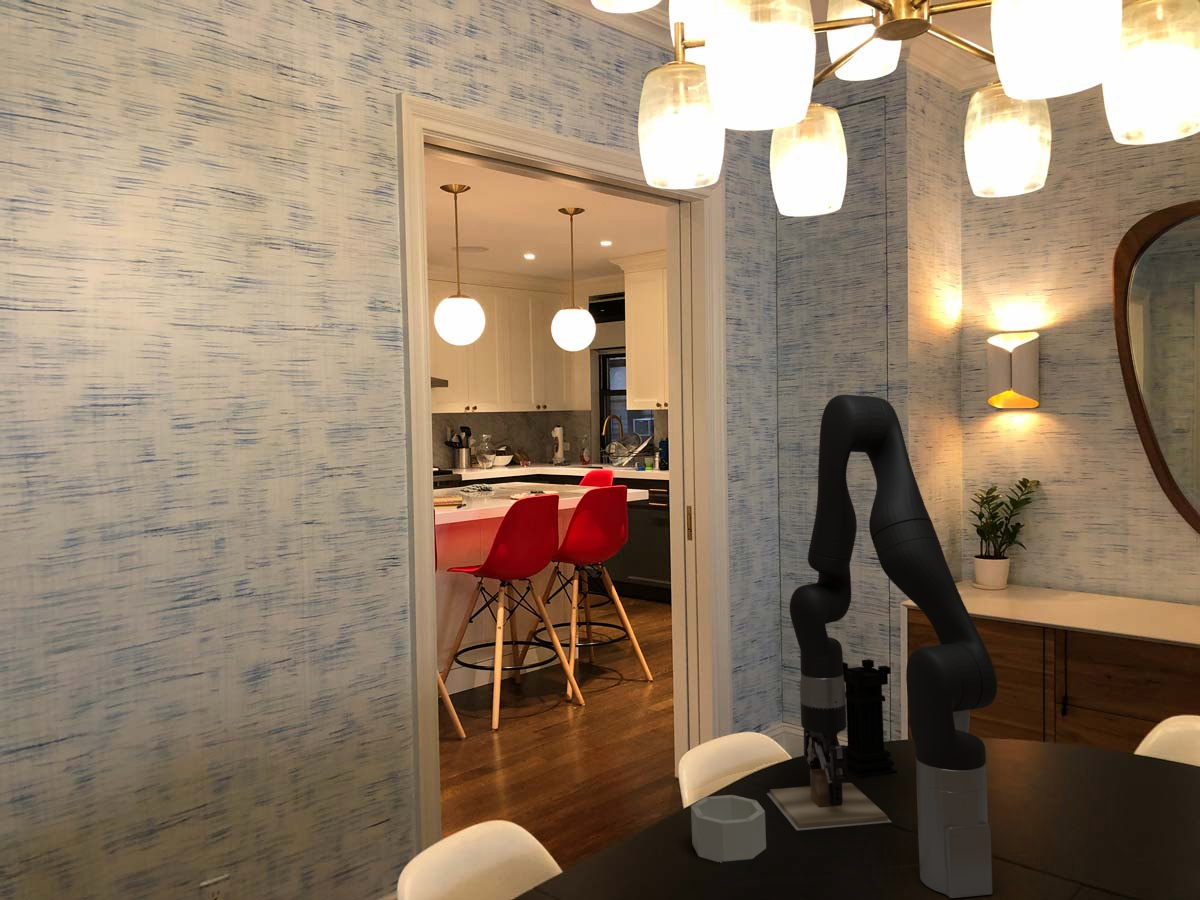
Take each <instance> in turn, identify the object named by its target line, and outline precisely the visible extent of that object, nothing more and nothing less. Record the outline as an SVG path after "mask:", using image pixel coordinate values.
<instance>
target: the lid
mask: <svg viewBox="0 0 1200 900" xmlns="http://www.w3.org/2000/svg"><path fill="white" fill-rule="evenodd" d="M830 771H831V769H830ZM836 775H838V774H837V771H836ZM809 780H810V781H809V785H808V786H807V785H806V786H797V787H785V788H782V787H781V788H773V789H769V793H770V794H771V796H772V797H773V798H774V799H775V800H776V802H777V803H778V804H779V805H780V806H781V808H782V809H783V810H784V811H785V813H786V814H787V815H788V816H789V817H790V819H791V820H792V821H793V822H794V823H795V825H796V826H797V827H798V828H799V829H801V828H812V827H823V826H835V825H846V824H857V823H869V822H880V821H888V819H889V816H888V815H887V814H886V813H885V812H884V811H883V810H881V809H880V807H878V806H877V805H876V804H875V803H874V802H873V801H872V800H871V799H870V798H868V796H866V795H865V794H864V793H863V792H862V791H861V790H860V789H859V788H857V786H855V785H854V784H853V783H852V782H846V783H842V797H843V803H842V805H837V806H831V805H830V804H829V802H828V781H827V776H826V772H825V770H823V769H812V770H810V769H809Z"/></svg>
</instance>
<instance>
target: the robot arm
mask: <svg viewBox="0 0 1200 900" xmlns="http://www.w3.org/2000/svg"><path fill="white" fill-rule="evenodd" d="M819 428H820V429H819V447H818V448H819V449H818V473H817V496H816V497H817V498H816V499H817V501H816V510H815V518H814V522H813V529H812V532H811V538H810V542H809V547H808V553H807V563H808V565H809V566H810V568H812V569H813V570H814V571H816V572H818V578H817V582H814V583H808V584H803V585H800V586H797V588H796V589H795V590H794V591H793V592H792V595H791V598H790V601H789V615H790V620H791V623H792V626H793V630H794V632H795V636H796V637H795V638H796V641H797V644H798V647H799V651H800V657H799V658H800V682H799V695H800V696H799V698H800V699H799V700H800V704H799V705H800V724H801V727H802V728H803V756H804V757H805V758H807V764H808V765H809V771H810V770H812V769H823V770H825V772H826V776H827V781H828V802H829V804H830V805H831V806H837V805H842V803H843V797H842V784H843V783H849V772H848V767H847V749H846V746H847V745H845V744H842V745H841V744H840V741H839V738H838V734H840V732H843V731H845V730H846V729H847V710H846V695H845V692H846V682H844V677H843V662H844V658H843V657H844V656H843V647H842V644H841V642H840V641H839V640H838V639H836V638H834V637H830V636H829V635H828V632H827V627H826V626H827V624H831V623H835V622H838V621H840V620H842V619H843V618H844V617H845V615H847V613H848V611H849V608H850V606H851V601H852V582H851V581H852V577H851V576H852V575H851V561H852V555H853V551H854V545H855V542H856V537H857V527H858V525H857V523H858V522H857V515H856V514H857V513H856V511H855V507H854V504H853V501H852V499H851V495H850V491H849V488H848V481H847V468H848V462H849V459H850V455H851V453H865V455H866V456H867V457H868V460H869V461H870V464H871V467H872V469H873V473H874V476H875V477H874V478H875V480H876V491H875V495H874V499H873V503H872V506H871V511H870V516H869V520H868V521H869V522H868V523H869V525H868V526H869V527H868V528H869V536H870V537H871V541H872V544H873V547H874V549H875V553H876V555H877V559H878V562H879V564H880V566H881V568H882V569H881V570H883V572H884V574H885V575H886V576H887V578H889V580H890V581H891V582H892V583H893V584H894V585H895V587H897V588H898V589H899V590H900V591H901V592H902V593H903V595H905V596H906V597H907V598H908V599H909V600H910V601H911V602H913V604H915V605H916V607H918V608H919V610H920V611H922V613H923V614H924V615H925V616H926V618H927V619H928V621H929V623H930V624H931V626H932V627H933V630H934V632H935V635H936V636H937V639H938V641H939V644H936V645H928V646H927V645H926V646H921V647H919V648H915V649H914V650H913V651H912V652H911V653H910V655H909V657H908V660H907V663H906V673H905V674H906V677H905V679H906V692H907V693H906V694H907V702H908V704H907V705H908V713H909V716H908V717H909V725H910V726H909V728H910V734H911V737H912V740H913V743H914V747H915V767H916V768H915V770H916V771H915V773H916V774H915V775H916V803H917V805H916V807H917V829H918V832H917V833H918V855H919V857H918V858H919V860H918V861H919V877H920V878H919V879H920V880H921V882H922V883H923V884H924V885H925V886H926V887H927V888H929V889H931V890H933V891H935V892H938V893H941V894H944V895H946V896H947V897H948V898H949V899H956V898H958V899H959V898H968V897H978V896H989V895H993V871H992V869H993V868H992V867H993V866H992V844H991V843H992V842H991V837H992V836H991V826H990V824H989V819H988V815H989V814H988V813H989V812H988V792H987V791H988V789H987V754H986V753H987V752H986V745H985V744H984V741H983V740H982V739H981V738H979V736H976V735H974V734H972V733H969V732H968V733H966V732H963V731H959V730H956V729H955V724H954V717H953V712H957V711H965V710H969V711H973V710H977V709H979V710H980V709H983V708H986V707H988V706H990V705H992V704H993V702H994V701H995V699H996V697H997V694H998V680H997V673H996V670H995V667H994V664H993V660H992V659H991V656H990V653H989V651H988V650H987V647H986V645H985V643H984V641H983V639H982V637H981V635H980V634H979V631H978V629H977V627H976V625H975V624H974V621H973V619H972V617H971V615H970V614H969V611H968V610H967V607H966V606H965V603H964V601H963V598H962V596H961V595H960V592H959V589H958V587H957V584H956V582H955V580H954V578H953V575H952V572H951V570H950V568H949V566H948V563H947V561H946V560H947V559H946V557H945V554H944V551H943V548H942V545H941V542H940V539H939V538H938V537H939V536H938V535H937V532H936V529H935V527H934V525H933V521H932V518H931V516H930V514H929V511H928V510H927V507H926V504H925V502H924V500H923V499H924V498H923V497H922V494H921V491H920V488H919V486H918V483H917V479H916V476H915V474H914V470H913V468H912V465H911V461H910V457H909V454H908V453H909V452H908V449H907V447H906V446H907V445H906V441H905V438H904V434H903V430H902V426H901V423H900V421H899V417H898V414H897V412H896V410H895V408H894V407H893V405H892V404H891V403H890V402H889V401H888V400H886V399H884V398H882V397H877V396H867V395H855V394H838V395H836V396H833V397H832V398H831V399H830V400H829V401H828V402H827V404H826V405H825V407H824V410H823V412H822V417H821V420H820V427H819ZM830 769H831V771H830ZM836 772H837V774H838V775H836Z"/></svg>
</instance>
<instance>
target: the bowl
mask: <svg viewBox="0 0 1200 900" xmlns="http://www.w3.org/2000/svg"><path fill="white" fill-rule="evenodd" d="M690 813H691V814H690V815H691V839H692V841H691V842H692V844H691V845H692V846H693V848H694V850H695V852H696V855H697V856H698V858H699V857H700V858H703V859H705V860H706V859H707V860H710V861H713V862H717V863H719V862H720V864H723V862H732V861H733V862H734V861H744V860H753V859H754V858H755V857H757V856H758V855H759V854H760V853H762V852H763V851H764V850H766V849H767V839H766V838H767V837H766V836H767V835H766V811H765V810H764V808H763V807H762V806H761V805H760V803H759V802H758V801H757V800H756V799H751V798H746V797H742V796H740V795H739V796H738V795H735V794H728V795H726V794H725V795H714V796H705V797H703V798H701V800H699V801H696V802H695V803H694V804H692V805H690Z"/></svg>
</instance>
